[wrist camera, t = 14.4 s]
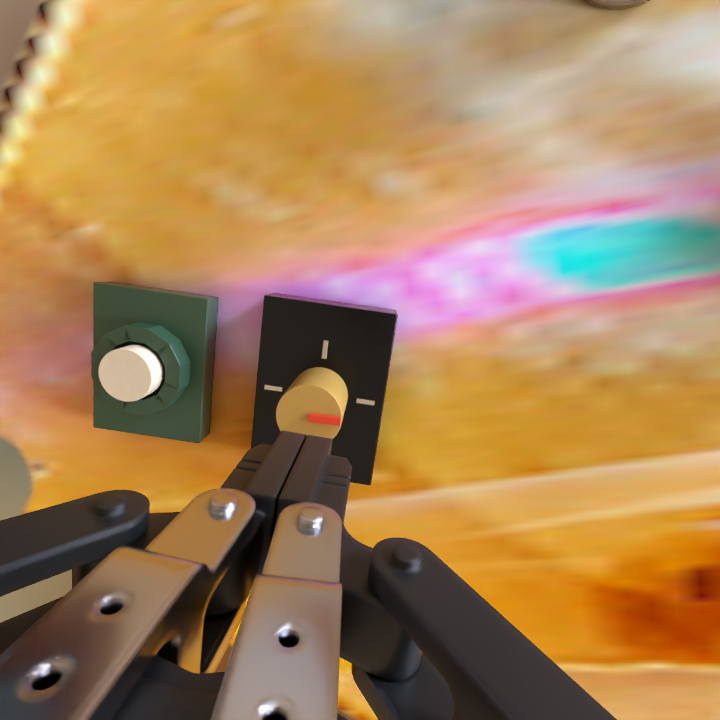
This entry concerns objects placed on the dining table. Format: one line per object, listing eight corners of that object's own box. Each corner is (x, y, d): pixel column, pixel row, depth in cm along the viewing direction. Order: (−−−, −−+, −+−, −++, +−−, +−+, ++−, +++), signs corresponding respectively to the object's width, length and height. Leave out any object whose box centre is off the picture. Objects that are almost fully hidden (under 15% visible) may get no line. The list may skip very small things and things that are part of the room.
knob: (289, 418, 33) (272, 445, 28) (293, 364, 32) (276, 382, 27) (345, 424, 33) (338, 453, 28) (350, 370, 32) (344, 390, 27)
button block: (111, 281, 35) (76, 283, 31) (218, 297, 35) (198, 300, 31) (109, 418, 37) (78, 435, 33) (209, 433, 37) (189, 452, 33)
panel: (274, 292, 34) (263, 295, 31) (396, 310, 34) (397, 314, 31) (259, 451, 37) (248, 468, 34) (371, 468, 37) (370, 486, 34)
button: (113, 340, 32) (98, 344, 30) (164, 348, 32) (152, 353, 30) (112, 390, 33) (97, 397, 31) (162, 398, 33) (150, 405, 31)
